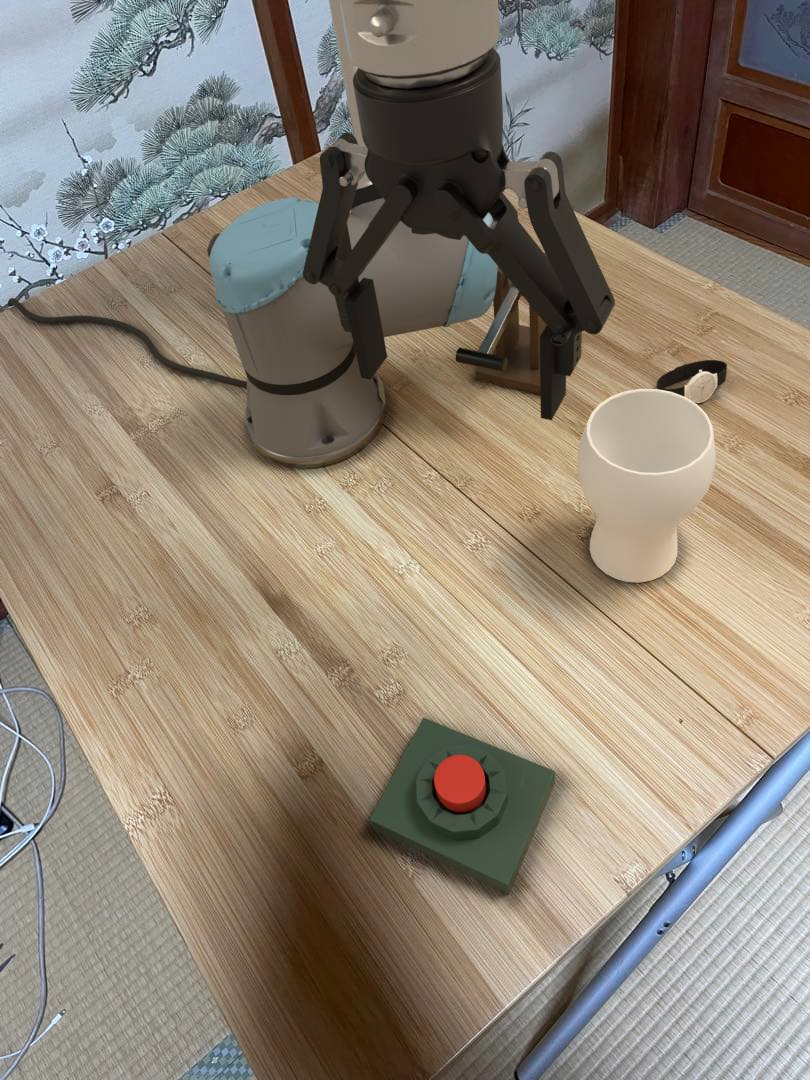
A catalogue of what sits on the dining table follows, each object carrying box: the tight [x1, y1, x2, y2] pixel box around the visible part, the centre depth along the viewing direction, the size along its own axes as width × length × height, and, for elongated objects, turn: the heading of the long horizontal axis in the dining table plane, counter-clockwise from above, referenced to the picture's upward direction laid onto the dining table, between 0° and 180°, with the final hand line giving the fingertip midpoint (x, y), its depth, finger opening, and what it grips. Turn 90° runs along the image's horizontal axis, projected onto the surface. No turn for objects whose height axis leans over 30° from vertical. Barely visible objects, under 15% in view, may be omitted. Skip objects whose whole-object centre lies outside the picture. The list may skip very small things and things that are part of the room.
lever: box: [454, 278, 523, 372], centre depth 83 cm, size 13×5×2 cm, turn 153°
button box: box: [369, 717, 556, 895], centre depth 62 cm, size 11×9×4 cm
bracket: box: [475, 252, 547, 395], centre depth 89 cm, size 9×8×13 cm
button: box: [434, 755, 486, 812], centre depth 60 cm, size 4×4×2 cm
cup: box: [576, 388, 717, 584], centre depth 70 cm, size 11×11×15 cm
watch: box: [656, 359, 728, 404], centre depth 86 cm, size 8×5×4 cm, turn 112°
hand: (460, 386), depth 58 cm, fingers open, 13 cm apart
